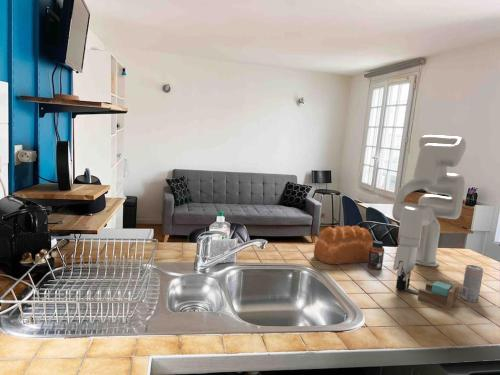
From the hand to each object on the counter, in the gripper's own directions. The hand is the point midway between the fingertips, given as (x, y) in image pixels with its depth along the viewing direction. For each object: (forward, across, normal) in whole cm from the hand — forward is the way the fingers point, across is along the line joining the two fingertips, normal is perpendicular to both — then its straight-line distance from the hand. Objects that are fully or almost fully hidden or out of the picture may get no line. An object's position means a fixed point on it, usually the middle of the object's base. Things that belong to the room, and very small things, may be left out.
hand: (402, 288), depth 139 cm
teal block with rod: (0, 0, +7) cm, 7 cm away
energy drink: (+1, -11, +20) cm, 23 cm away
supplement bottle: (+1, -15, -17) cm, 23 cm away
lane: (0, 0, +12) cm, 12 cm away
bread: (+1, -14, -31) cm, 34 cm away
